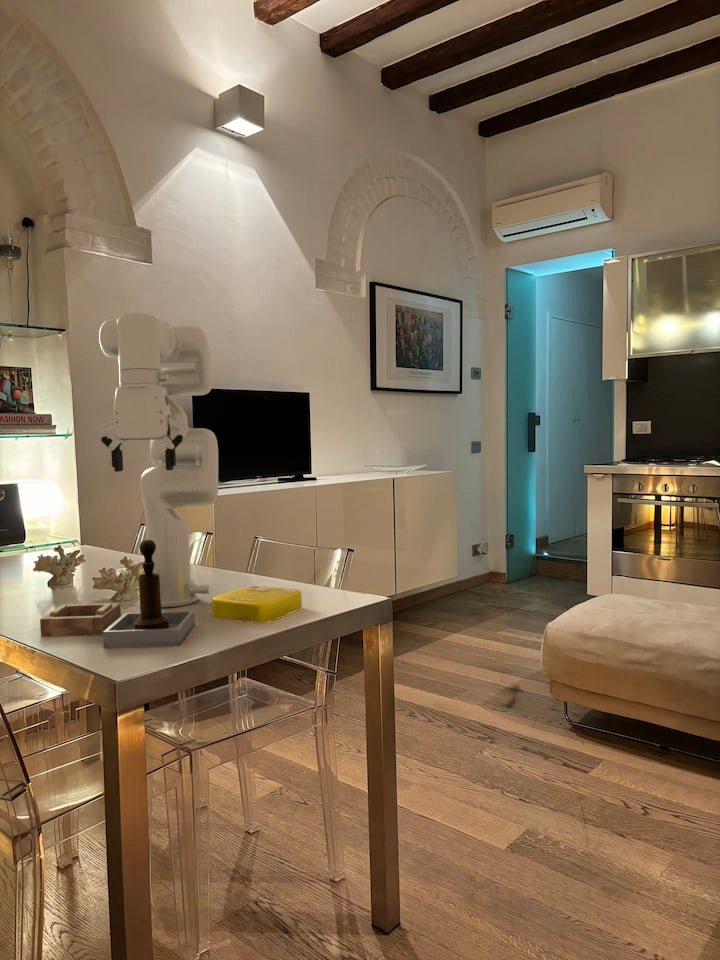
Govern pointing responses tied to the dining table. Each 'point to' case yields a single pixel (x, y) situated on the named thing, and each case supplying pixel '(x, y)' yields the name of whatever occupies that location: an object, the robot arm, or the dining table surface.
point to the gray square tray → (149, 631)
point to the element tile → (256, 603)
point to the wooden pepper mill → (149, 593)
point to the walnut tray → (79, 619)
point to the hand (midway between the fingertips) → (144, 470)
